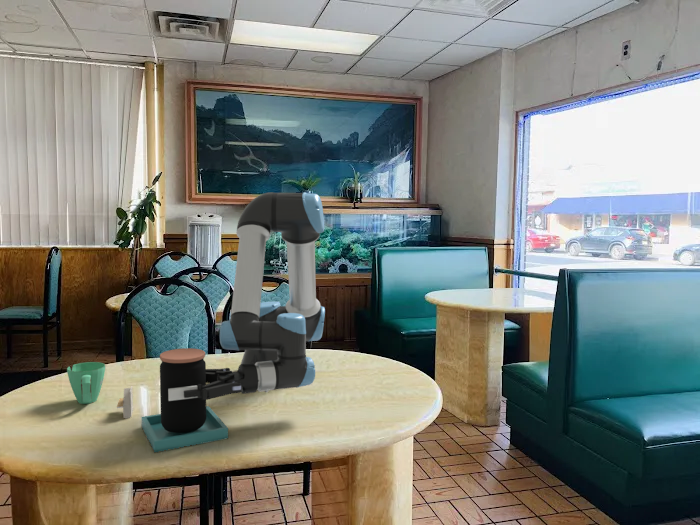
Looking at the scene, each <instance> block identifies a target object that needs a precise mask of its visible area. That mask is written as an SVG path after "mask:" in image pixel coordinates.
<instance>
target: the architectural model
mask: <svg viewBox="0 0 700 525" xmlns="http://www.w3.org/2000/svg"><path fill="white" fill-rule="evenodd" d="M133 397H134V396H133V385H131V386H130V387H124V388H123V397H121V398H119V399H118V401H117V405H116V409H122V414H123V418H125V419H131V418H132V415H133V411H134V407H133V406H134V404H133V403H134V402H133ZM130 417H131V418H130Z"/></svg>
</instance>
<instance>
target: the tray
mask: <svg viewBox="0 0 700 525" xmlns="http://www.w3.org/2000/svg"><path fill="white" fill-rule="evenodd" d="M140 418H141V429H142V430H144V431H143V433H144V435H145V436H147V437H146V439H147V441H148V440H149V441H148V443H149V442H150V443H149V444H151V445H150V446H152V447H151V448H153V449H152V450H154V451H153V452H154V453H155V452H156V453H159V451H161V452H165V451H164V450H166V451H169V450H168V449H171V450H175V449H174V448H176V449H180V448H179V447H181V448H185V447H184V446H187V447H190V445H192V446H195V445H196V444H197V445H201V444H206V443H212V442H217V441H222V439H223V440H226V439H227V438H228V439H229V428H228V426H227V425H226V424H225V423H224V422H223V421H222V419H221V418H220V417H219V416H218V415H217V414H216V412H214V410H213V409H212V408H211V407H210V406H209V405H208V406H207V405H206V421H205V423H204V424H203V426H202V427H201V428H199V429H197V430H194V431H191V432H185V433H173V432H169V431H167V430H165V429H164V427H163V426H162V424H161V413H157V414H156V413H155V414H151V415H144V416H141V417H140ZM228 439H227V440H228Z"/></svg>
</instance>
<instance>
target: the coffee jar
mask: <svg viewBox="0 0 700 525" xmlns="http://www.w3.org/2000/svg"><path fill="white" fill-rule="evenodd" d="M205 357H206V352H205V351H204V350H202V349H199V348H187V347H186V348H175V349H170V350H166V351H165V350H164V351H163V352H161V353H160V354H159V359H160V361H161V362H160V365H159V384H160V385H159V388H160V389H159V390H160V394H159V395H160V396H159V398H160V414H161V424H162V426H163V427H164V429H165V430H167V431H169V432H173V433H185V432H191V431H194V430H197V429H199V428H201V427H202V426H203V424H204V423H205V421H206V406H207V400H202V398H198V397H197V398H189V399H181V400H173V401H169V400H168V389H170V388H179V387H188V386H196V385H197V389H198V384H202V386H203V385H206V384H207V383H206V369H207V368H206V366H207V365H206V364H207V363H206V361H205Z"/></svg>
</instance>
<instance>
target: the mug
mask: <svg viewBox="0 0 700 525" xmlns="http://www.w3.org/2000/svg"><path fill="white" fill-rule="evenodd" d="M66 372H67V377H68V381H69V384H70V387H71V389H72V392H73V395H74V397H75V399H76V401H77V403H78V404H80V405H88V404H93V403H96V402H97V400H98V398H99V395H100V393H101V391H102V390H101V389H102V386H103V383H104V378H105V373H106V364H105V363H103V362H98V361H87V362H79V363H76V364H72V366H71V367H70V366H68V367H67V368H66ZM92 402H93V403H92Z"/></svg>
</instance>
